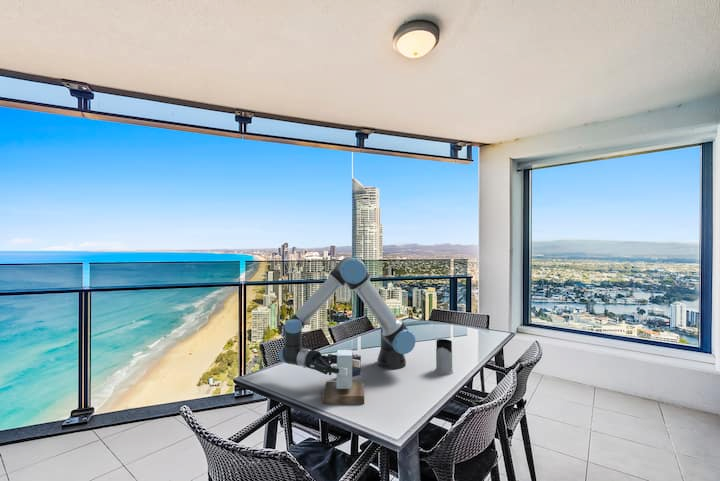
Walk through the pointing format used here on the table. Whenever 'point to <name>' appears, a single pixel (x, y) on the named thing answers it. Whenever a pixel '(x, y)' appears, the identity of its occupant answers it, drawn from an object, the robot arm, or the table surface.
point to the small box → (346, 362)
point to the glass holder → (444, 357)
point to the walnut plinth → (343, 394)
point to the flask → (355, 369)
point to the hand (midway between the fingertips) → (353, 367)
